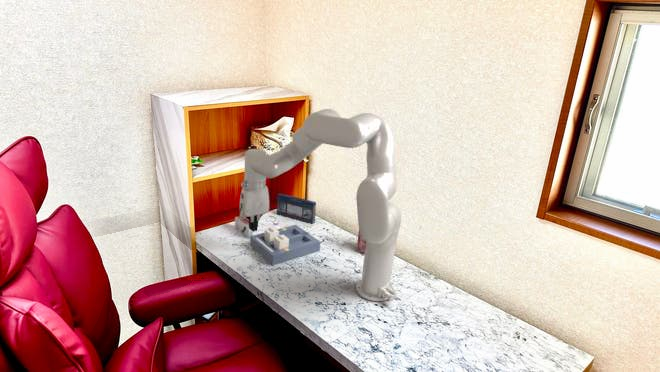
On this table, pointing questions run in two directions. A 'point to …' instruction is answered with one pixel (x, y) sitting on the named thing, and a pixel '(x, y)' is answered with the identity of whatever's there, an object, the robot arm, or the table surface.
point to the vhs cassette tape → (296, 208)
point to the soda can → (361, 243)
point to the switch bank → (298, 247)
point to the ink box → (243, 226)
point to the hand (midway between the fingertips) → (253, 229)
